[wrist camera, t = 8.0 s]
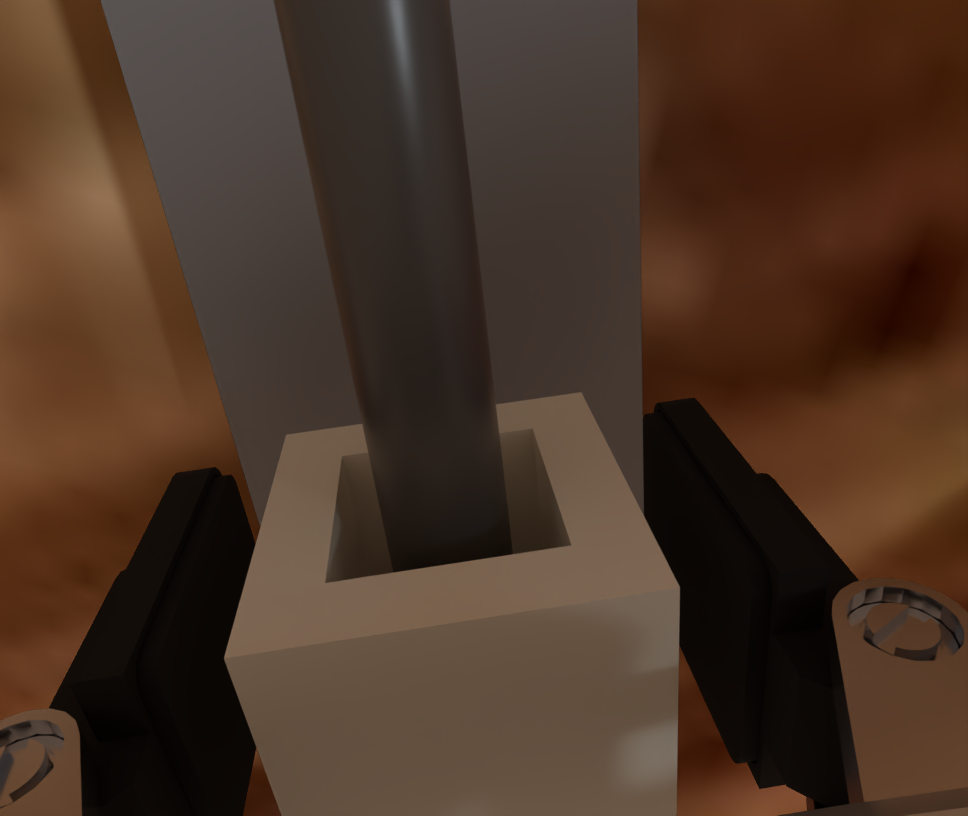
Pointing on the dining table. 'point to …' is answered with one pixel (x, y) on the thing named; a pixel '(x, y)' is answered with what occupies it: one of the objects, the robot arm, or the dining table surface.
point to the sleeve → (462, 641)
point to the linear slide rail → (402, 230)
